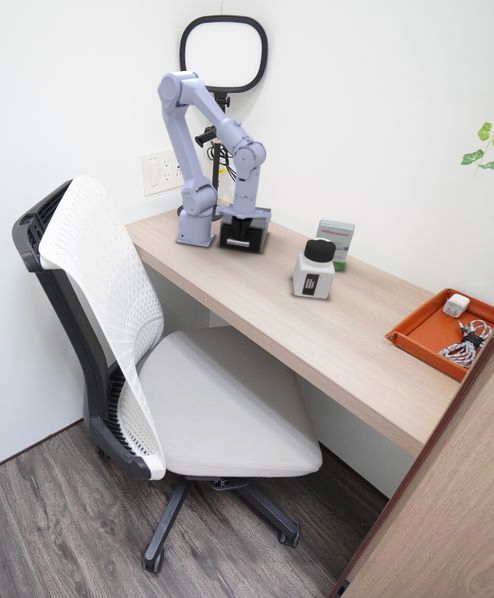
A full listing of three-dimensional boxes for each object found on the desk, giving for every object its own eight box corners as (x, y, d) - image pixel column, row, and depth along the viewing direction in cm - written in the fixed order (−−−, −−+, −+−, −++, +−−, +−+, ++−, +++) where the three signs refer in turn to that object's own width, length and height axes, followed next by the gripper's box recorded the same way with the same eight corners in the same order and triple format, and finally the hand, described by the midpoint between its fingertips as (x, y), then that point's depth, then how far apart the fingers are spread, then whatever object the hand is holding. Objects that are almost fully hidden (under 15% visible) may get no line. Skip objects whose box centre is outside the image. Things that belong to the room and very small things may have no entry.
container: (327, 299, 86) (342, 252, 78) (293, 295, 87) (305, 248, 79) (323, 282, 92) (337, 236, 84) (292, 278, 93) (303, 232, 85)
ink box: (343, 263, 100) (356, 223, 92) (341, 271, 96) (355, 231, 89) (310, 256, 102) (321, 217, 95) (308, 264, 99) (318, 224, 92)
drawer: (256, 259, 99) (260, 239, 95) (216, 253, 102) (217, 232, 98) (264, 233, 111) (267, 214, 108) (228, 228, 114) (230, 209, 110)
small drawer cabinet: (261, 253, 103) (265, 227, 98) (218, 246, 106) (220, 221, 102) (267, 233, 114) (271, 208, 109) (227, 227, 117) (230, 203, 112)
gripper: (214, 195, 91) (211, 244, 99) (272, 202, 87) (264, 252, 95) (220, 187, 96) (216, 233, 104) (275, 193, 93) (267, 241, 101)
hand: (239, 241), depth 100 cm, fingers closed, pressing on drawer
